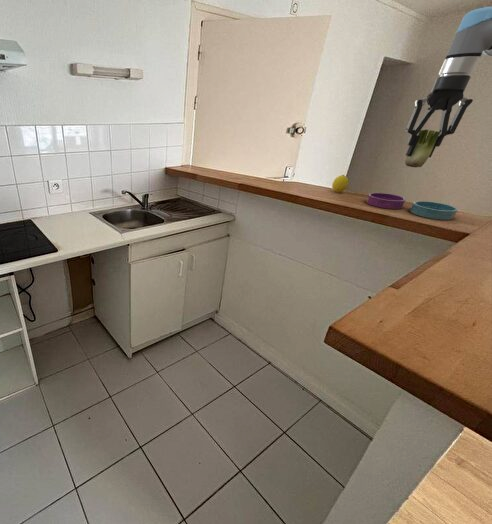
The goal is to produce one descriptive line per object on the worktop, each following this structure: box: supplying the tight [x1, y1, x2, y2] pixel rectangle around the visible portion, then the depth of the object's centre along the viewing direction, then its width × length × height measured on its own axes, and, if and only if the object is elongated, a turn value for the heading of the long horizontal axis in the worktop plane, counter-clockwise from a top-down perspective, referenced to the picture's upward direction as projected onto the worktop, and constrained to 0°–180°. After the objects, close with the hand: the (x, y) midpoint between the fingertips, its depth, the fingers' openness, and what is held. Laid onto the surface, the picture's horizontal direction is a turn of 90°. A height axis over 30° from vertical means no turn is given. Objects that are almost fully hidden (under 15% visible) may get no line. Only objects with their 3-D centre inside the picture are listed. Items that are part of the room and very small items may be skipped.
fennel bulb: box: [404, 129, 440, 168], centre depth 96 cm, size 6×5×12 cm
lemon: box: [331, 174, 349, 194], centre depth 122 cm, size 6×6×8 cm
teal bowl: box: [409, 200, 459, 221], centre depth 98 cm, size 11×11×4 cm
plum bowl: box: [365, 192, 407, 210], centre depth 108 cm, size 11×11×4 cm
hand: (417, 156), depth 97 cm, fingers closed on fennel bulb, 5 cm apart
